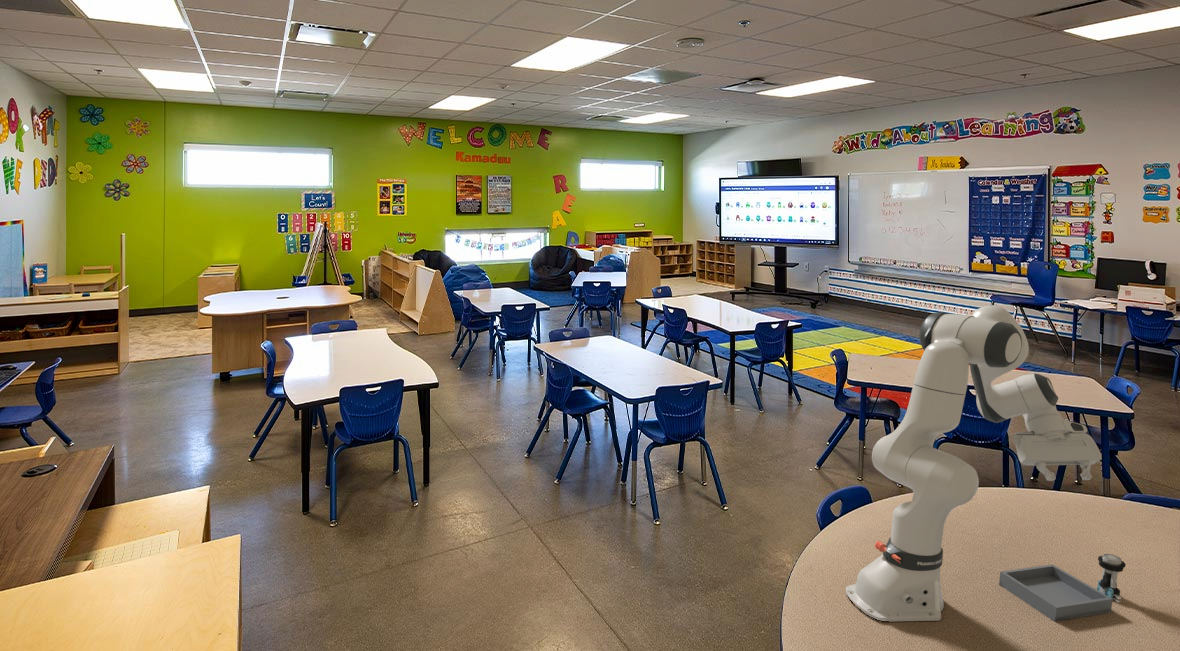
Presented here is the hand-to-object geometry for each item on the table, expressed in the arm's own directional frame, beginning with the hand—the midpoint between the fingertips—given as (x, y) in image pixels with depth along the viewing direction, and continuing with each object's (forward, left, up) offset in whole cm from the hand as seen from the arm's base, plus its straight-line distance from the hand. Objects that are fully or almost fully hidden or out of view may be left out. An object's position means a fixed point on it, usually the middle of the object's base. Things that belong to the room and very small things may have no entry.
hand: (1069, 479), depth 175 cm
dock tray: (-15, -12, -24) cm, 31 cm away
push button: (-1, -15, -25) cm, 29 cm away
